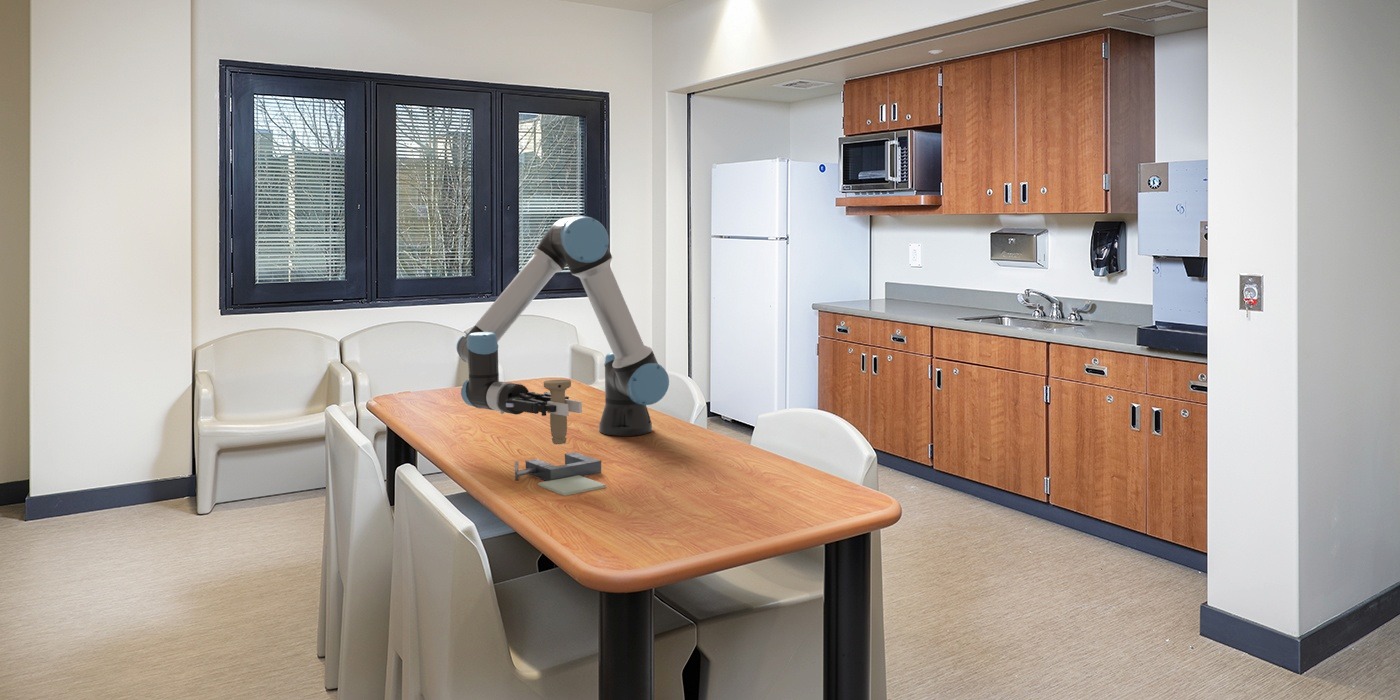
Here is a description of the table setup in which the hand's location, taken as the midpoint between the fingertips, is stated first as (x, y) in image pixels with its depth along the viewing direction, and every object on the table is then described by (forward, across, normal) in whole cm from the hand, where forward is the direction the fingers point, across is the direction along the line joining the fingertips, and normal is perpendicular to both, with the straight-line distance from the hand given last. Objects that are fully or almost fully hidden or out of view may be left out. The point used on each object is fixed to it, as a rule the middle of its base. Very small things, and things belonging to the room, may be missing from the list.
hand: (573, 408), depth 225 cm
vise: (-4, +3, -16) cm, 17 cm away
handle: (-5, 0, -9) cm, 11 cm away
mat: (+6, +7, -16) cm, 19 cm away
